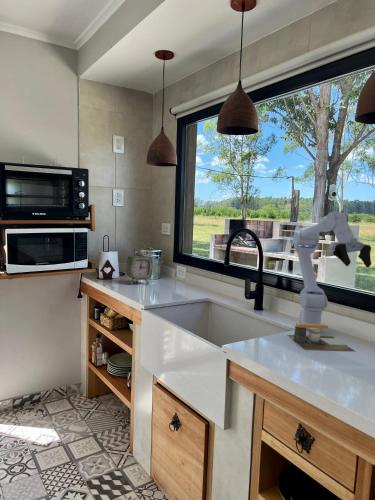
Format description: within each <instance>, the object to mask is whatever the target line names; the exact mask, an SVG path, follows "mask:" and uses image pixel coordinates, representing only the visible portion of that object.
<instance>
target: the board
mask: <svg viewBox="0 0 375 500" xmlns="http://www.w3.org/2000/svg"><path fill="white" fill-rule="evenodd" d="M286 336H287V337H289V338H290V339H291V340H292V341H293V342H294V343H296V344H297V345H298V346H300V347H301V348H302V349H303V350H305V351H323V352H324V351H325V352H326V351H328V352H356V350H354V349H353V348H352V347H350V346H348V345H347V346H338V345H328V344H327V343H325V342H324V341H322V340H321V339H319V342H310V341H308V334H307V330H306V328H300V327H297V326H296V325H295V326H294V334H286ZM320 338H335V337H334V336H332V335H320Z"/></svg>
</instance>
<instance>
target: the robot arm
mask: <svg viewBox="0 0 375 500" xmlns="http://www.w3.org/2000/svg"><path fill="white" fill-rule="evenodd" d="M331 231H333V234H334V235H335V237H336V240H337V241H335V242H334V241H332V242H330V244H329V248H330V250H331V251H332V255H333V256H335V257H336V258H338V259H339V260H340V261H341V262H342V264H344V266H345V267H349V266H350V264H351V259H350V256H349V253H353V252H359V254H358V255H357V256H358V258H359V259H360V260H361V261H362V262H363V264H364V266H365V267H366V268H370V267H371V265H372V260H371V251H372V246H371V245H370V244H366V243H363V242H361V241H359V240H358V237H356V236H355V234H354V232H353V231H352V228H351V227H350V225H349V215H348V213H347V212H340V211H339V212H338V211H330V212H329V213H328V214H327V215H324V216H323V217H322V218H320V219H319V220H318V222H317V223H316V224H313V225H310V226H307V227H304V228H300V229H299V230H297V231H295V232H294V234H293V239H292V242H293V247H294V251H295V252H296V253H297V256H298V263H299V265H300V270H301V275H302V280H303V284H304V285H303V286H304V288H302V290H301V291H300V292H299V298H300V299H299V302H300V306H301V309H300V311H299V317H298V323H307V324H322V323H321V321H322V313H323V312H324V310H325V309H326V308H327V306H328V303H329V302H328V297H327V295H326V294H325V291H324V289H323V288H320V287H319V286H318V283H317V279H316V274H315V270H314V267H313V262H312V257H311V255H312V254H313V253H315V251H316V249H317V246H318V245H319V242H320V234H321V232H322V233H328V232H331ZM317 329H320V330H321V328H317ZM306 331H309V328H306Z"/></svg>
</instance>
